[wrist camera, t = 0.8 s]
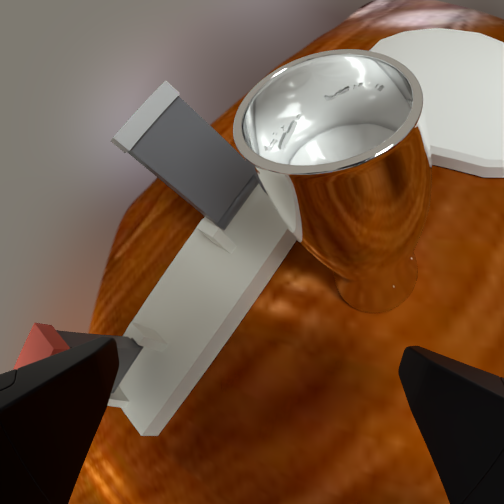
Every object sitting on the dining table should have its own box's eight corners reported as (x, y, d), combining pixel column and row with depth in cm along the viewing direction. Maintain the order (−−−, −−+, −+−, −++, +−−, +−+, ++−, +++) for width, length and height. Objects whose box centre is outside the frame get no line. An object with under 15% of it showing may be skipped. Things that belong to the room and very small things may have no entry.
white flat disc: (567, 53, 14) (573, 201, 12) (563, 79, 18) (555, 231, 15) (395, 5, 29) (302, 99, 27) (401, 29, 33) (316, 129, 30)
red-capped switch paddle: (150, 349, 23) (53, 348, 13) (119, 396, 22) (22, 414, 12) (133, 333, 23) (34, 322, 13) (103, 380, 23) (5, 389, 12)
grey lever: (268, 179, 24) (165, 80, 18) (228, 233, 23) (113, 137, 17) (254, 178, 26) (158, 87, 20) (217, 228, 25) (110, 140, 19)
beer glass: (316, 307, 22) (194, 175, 10) (343, 222, 24) (266, 55, 12) (411, 330, 18) (425, 193, 6) (430, 236, 20) (427, 45, 8)
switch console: (320, 203, 26) (302, 166, 22) (157, 435, 22) (115, 435, 19) (252, 178, 30) (228, 145, 26) (114, 377, 27) (75, 368, 23)
